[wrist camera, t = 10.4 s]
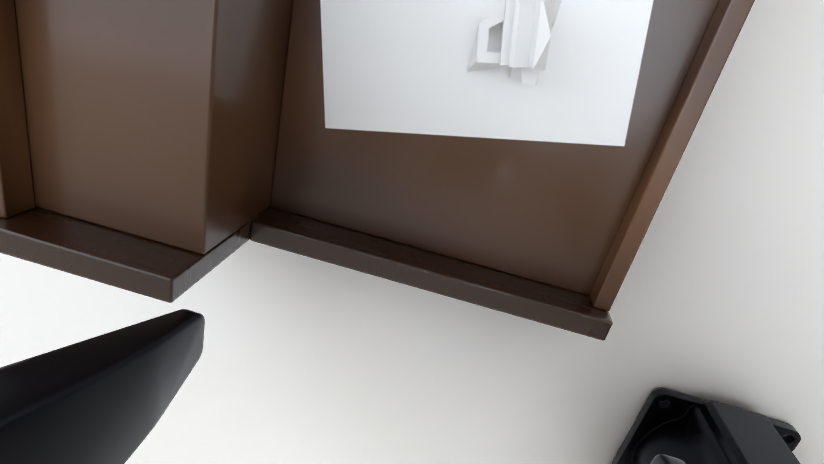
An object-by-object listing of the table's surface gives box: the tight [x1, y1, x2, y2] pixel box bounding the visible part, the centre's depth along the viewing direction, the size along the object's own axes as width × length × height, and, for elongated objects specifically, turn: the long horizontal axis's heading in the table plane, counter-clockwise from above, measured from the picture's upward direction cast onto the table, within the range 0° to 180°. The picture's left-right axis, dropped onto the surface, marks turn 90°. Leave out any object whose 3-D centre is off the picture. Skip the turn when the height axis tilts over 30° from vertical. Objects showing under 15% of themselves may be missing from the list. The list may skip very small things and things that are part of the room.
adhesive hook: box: [465, 0, 562, 86], centre depth 13 cm, size 3×3×3 cm
